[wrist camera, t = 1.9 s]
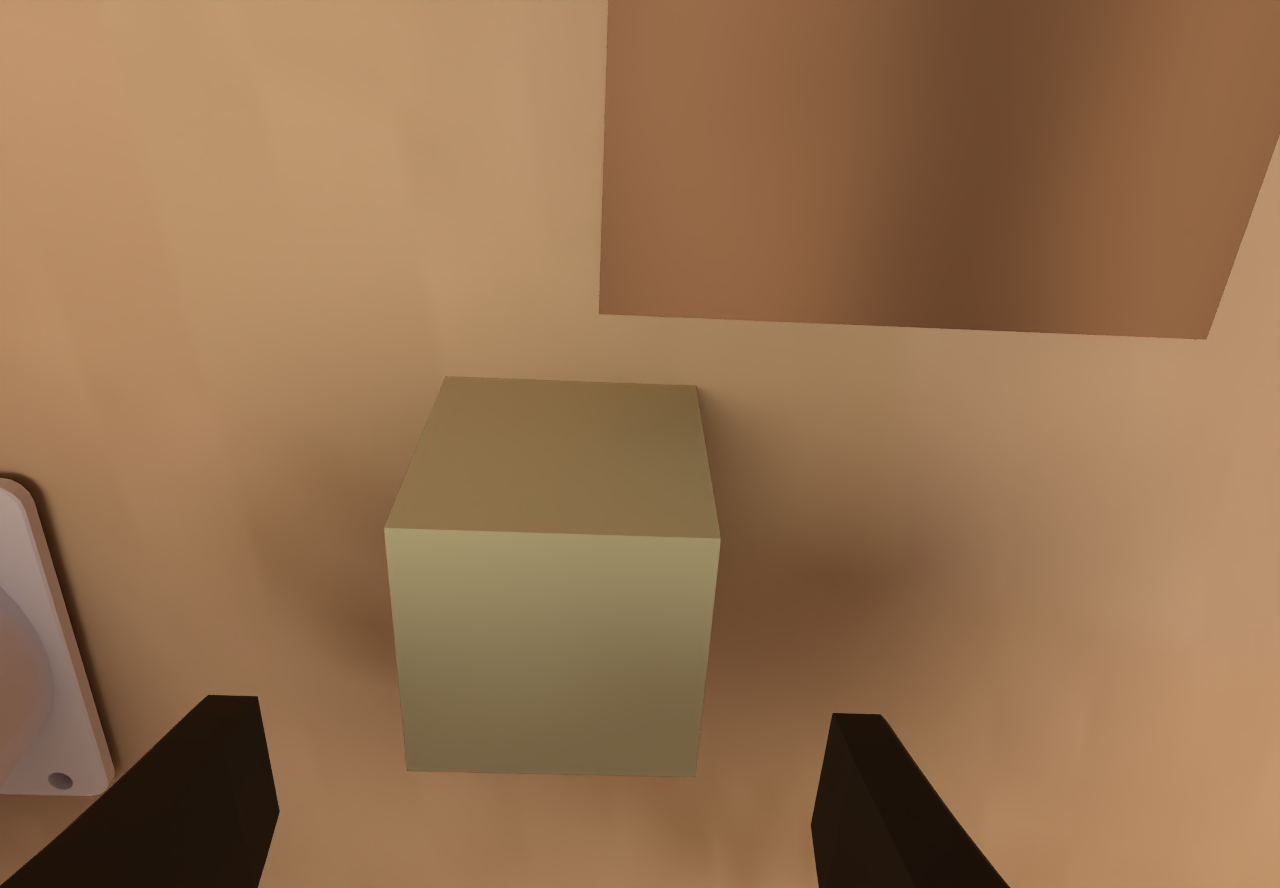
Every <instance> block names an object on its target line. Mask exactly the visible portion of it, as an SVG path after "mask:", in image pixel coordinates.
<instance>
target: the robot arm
mask: <svg viewBox="0 0 1280 888" xmlns="http://www.w3.org/2000/svg"><path fill="white" fill-rule="evenodd" d="M114 776H115V770H114V766H113V763H112V760H111V756H110V753H109V750H108V746H107V743H106V740H105V736H104V733H103V729H102V726H101V723H100V719H99V716H98V713H97V709H96V706H95V703H94V699H93V696H92V693H91V689H90V686H89V683H88V679H87V676H86V673H85V669H84V666H83V663H82V659H81V656H80V653H79V649H78V646H77V643H76V639H75V636H74V633H73V629H72V626H71V623H70V619H69V616H68V613H67V609H66V606H65V603H64V599H63V596H62V592H61V589H60V586H59V582H58V579H57V576H56V572H55V569H54V566H53V562H52V559H51V556H50V552H49V549H48V546H47V542H46V539H45V536H44V532H43V529H42V526H41V522H40V519H39V516H38V512H37V509H36V506H35V502H34V500H33V498H32V496H31V494H30V493H29V492H28V491H27V490H26V489H25V488H24V487H23V486H22V485H20V484H18V483H17V482H15V481H13V480H10V479H5V478H0V794H11V795H57V796H94V795H99V794H101V793H103V792H105V791H106V789H107V788H108V786H109V784H110V783H111V781H112V779H113V778H114ZM279 812H280V811H279V806H278V801H277V796H276V790H275V785H274V780H273V775H272V769H271V764H270V759H269V754H268V748H267V743H266V738H265V733H264V727H263V722H262V717H261V712H260V706H259V701H258V696H226V695H208V696H206V697H205V698H204V699H203V700H202V701H201V702H200V703H199V704H197V705H196V706H195V707H194V708H193V709H192V710H191V711H190V712H189V713H188V714H187V715H186V716H185V717H184V718H183V719H182V720H181V721H179V722H178V723H177V724H176V725H175V726H174V727H173V728H172V729H171V730H170V731H169V732H168V733H167V734H166V735H165V736H164V737H163V738H162V739H161V740H160V741H159V742H158V743H157V744H156V745H155V746H154V747H153V748H152V749H150V750H149V751H148V752H147V753H146V754H145V755H144V756H143V757H142V758H141V759H140V760H139V761H138V762H137V763H136V764H135V765H134V766H133V767H132V768H131V769H130V770H129V771H128V772H126V773H125V774H124V775H123V776H122V777H121V778H120V779H119V780H118V781H117V782H116V783H115V784H114V785H113V786H112V787H111V788H110V789H108V790H107V791H106V792H105V793H104V794H103V795H102V796H101V797H100V798H99V799H98V800H97V801H95V802H94V803H93V804H92V805H91V806H90V807H89V808H88V809H87V810H86V811H85V812H84V813H82V814H81V815H80V816H79V817H78V818H77V819H76V820H75V821H74V822H73V823H72V824H70V825H69V826H68V827H67V828H66V829H65V830H64V831H63V832H62V833H61V834H60V835H58V836H57V837H56V838H55V839H54V840H53V841H52V842H51V843H49V844H48V845H47V846H46V847H45V848H44V849H43V850H41V851H40V852H39V853H38V854H37V855H36V856H34V857H33V858H32V859H31V860H30V861H29V862H27V863H26V864H25V865H24V866H23V867H22V868H20V869H19V870H18V871H17V872H16V873H15V874H13V875H12V876H11V877H10V878H9V879H8V880H6V881H5V882H4V883H3V884H2V885H0V888H258V884H259V881H260V878H261V875H262V871H263V868H264V865H265V862H266V858H267V855H268V851H269V848H270V844H271V841H272V837H273V833H274V830H275V826H276V823H277V819H278V815H279ZM811 830H812V838H813V846H814V854H815V862H816V870H817V877H818V884H819V888H1010V887H1009V886H1008V885H1007V883H1006V882H1005V881H1004V880H1003V878H1002V877H1001V876H1000V875H999V874H998V872H997V871H996V870H995V869H994V867H993V866H992V865H991V863H990V862H989V861H988V860H987V858H986V857H985V856H984V854H983V853H982V852H981V851H980V849H979V848H978V847H977V846H976V844H975V843H974V842H973V840H972V839H971V838H970V837H969V835H968V834H967V833H966V831H965V830H964V829H963V828H962V826H961V825H960V824H959V822H958V821H957V820H956V818H955V817H954V816H953V814H952V813H951V812H950V810H949V809H948V808H947V806H946V805H945V803H944V802H943V801H942V799H941V798H940V797H939V795H938V794H937V792H936V791H935V790H934V788H933V787H932V786H931V784H930V783H929V781H928V780H927V779H926V777H925V776H924V774H923V773H922V771H921V770H920V769H919V767H918V766H917V764H916V763H915V762H914V760H913V759H912V757H911V756H910V754H909V753H908V751H907V750H906V749H905V747H904V746H903V744H902V743H901V741H900V740H899V738H898V737H897V735H896V734H895V732H894V731H893V730H892V728H891V727H890V725H889V724H888V722H887V721H886V720H885V719H884V718H883V717H882V716H881V715H880V714H846V713H833V714H832V719H831V724H830V729H829V735H828V740H827V745H826V750H825V755H824V760H823V765H822V771H821V776H820V781H819V786H818V791H817V796H816V801H815V807H814V812H813V817H812V822H811Z"/></svg>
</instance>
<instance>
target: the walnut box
mask: <svg viewBox="0 0 1280 888" xmlns="http://www.w3.org/2000/svg"><path fill="white" fill-rule="evenodd" d="M1279 135H1280V0H608V31H607V64H606V97H605V130H604V163H603V196H602V229H601V262H600V295H599V314H611V315H635V316H659V317H682V318H706V319H730V320H754V321H778V322H802V323H826V324H849V325H873V326H897V327H921V328H945V329H969V330H992V331H1016V332H1040V333H1064V334H1088V335H1112V336H1136V337H1159V338H1183V339H1207V336H1208V334H1209V331H1210V328H1211V325H1212V322H1213V320H1214V317H1215V314H1216V311H1217V308H1218V306H1219V303H1220V300H1221V297H1222V294H1223V292H1224V289H1225V286H1226V283H1227V280H1228V278H1229V275H1230V272H1231V269H1232V266H1233V264H1234V261H1235V258H1236V255H1237V252H1238V250H1239V247H1240V244H1241V241H1242V238H1243V236H1244V233H1245V230H1246V227H1247V225H1248V222H1249V219H1250V216H1251V213H1252V211H1253V208H1254V205H1255V202H1256V199H1257V197H1258V194H1259V191H1260V188H1261V185H1262V183H1263V180H1264V177H1265V174H1266V171H1267V169H1268V166H1269V163H1270V160H1271V157H1272V155H1273V152H1274V149H1275V146H1276V143H1277V141H1278V138H1279Z"/></svg>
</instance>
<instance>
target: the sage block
mask: <svg viewBox="0 0 1280 888" xmlns="http://www.w3.org/2000/svg"><path fill="white" fill-rule="evenodd" d="M384 535H385V545H386V556H387V566H388V577H389V587H390V598H391V608H392V619H393V629H394V640H395V650H396V661H397V671H398V682H399V692H400V703H401V713H402V724H403V734H404V745H405V755H406V766H407V771H428V772H473V773H518V774H563V775H608V776H652V777H696V768H697V759H698V750H699V740H700V731H701V722H702V712H703V703H704V693H705V684H706V675H707V665H708V656H709V647H710V637H711V628H712V618H713V609H714V600H715V590H716V581H717V572H718V562H719V553H720V543H721V536H720V530H719V523H718V517H717V511H716V505H715V499H714V493H713V487H712V481H711V475H710V469H709V463H708V456H707V450H706V444H705V438H704V432H703V426H702V420H701V414H700V408H699V402H698V396H697V389H696V386H685V385H658V384H632V383H606V382H580V381H553V380H527V379H501V378H475V377H448V376H446V377H445V380H444V382H443V385H442V387H441V390H440V392H439V395H438V397H437V399H436V402H435V404H434V407H433V409H432V412H431V414H430V416H429V419H428V421H427V424H426V426H425V429H424V431H423V434H422V436H421V438H420V441H419V443H418V446H417V448H416V451H415V453H414V456H413V458H412V460H411V463H410V465H409V468H408V470H407V473H406V475H405V478H404V480H403V482H402V485H401V487H400V490H399V492H398V495H397V497H396V500H395V502H394V504H393V507H392V509H391V512H390V514H389V517H388V519H387V522H386V524H385V526H384Z"/></svg>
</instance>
